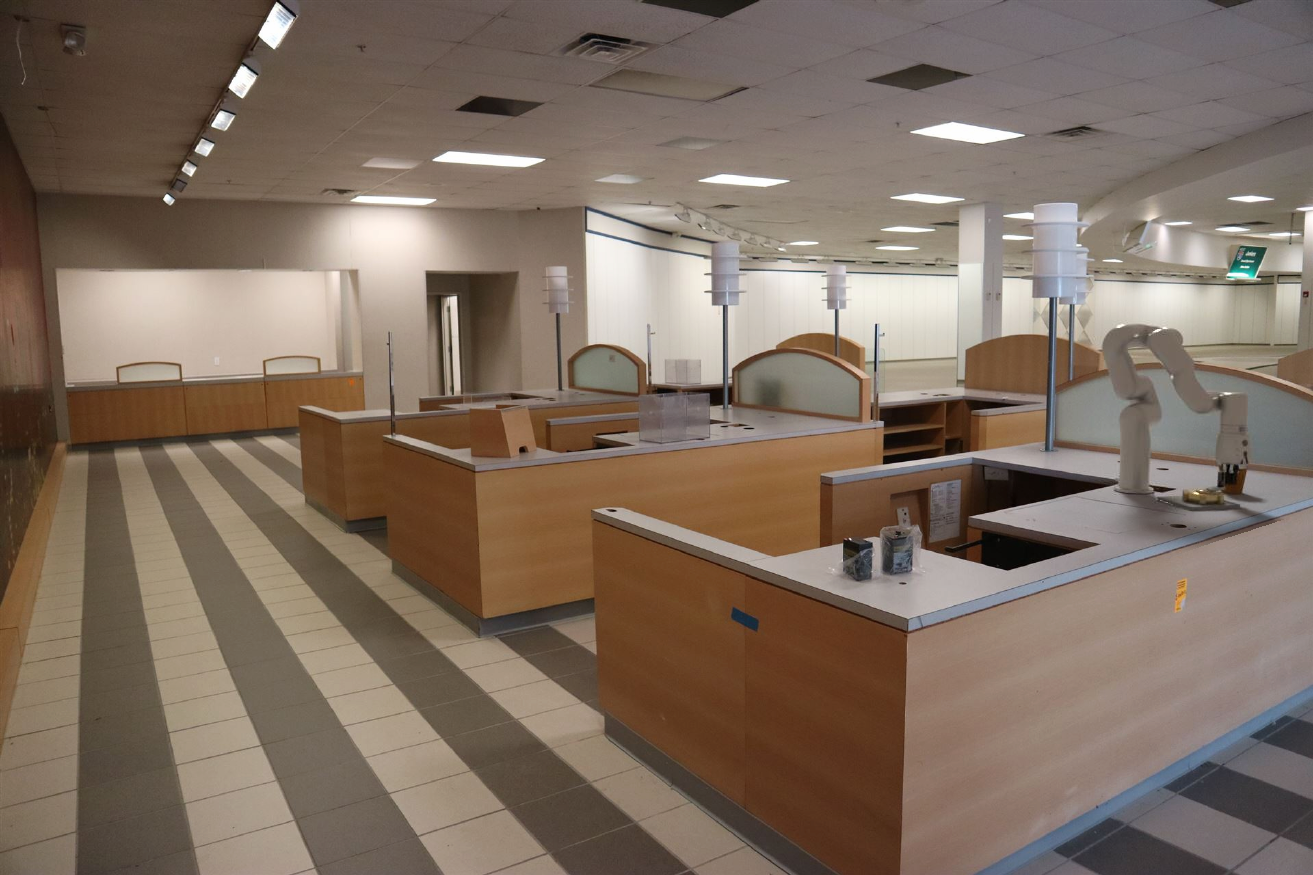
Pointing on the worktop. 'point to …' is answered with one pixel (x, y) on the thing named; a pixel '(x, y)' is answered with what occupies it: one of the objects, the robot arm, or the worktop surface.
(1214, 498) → the gold domed lever dial
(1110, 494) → the worktop surface
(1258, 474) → the worktop surface
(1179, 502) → the base plate
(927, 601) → the worktop surface
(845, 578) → the worktop surface
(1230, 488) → the disposable coffee cup
